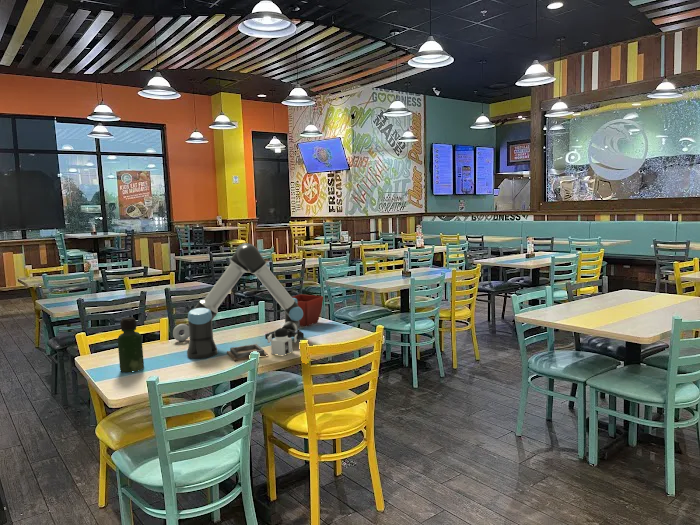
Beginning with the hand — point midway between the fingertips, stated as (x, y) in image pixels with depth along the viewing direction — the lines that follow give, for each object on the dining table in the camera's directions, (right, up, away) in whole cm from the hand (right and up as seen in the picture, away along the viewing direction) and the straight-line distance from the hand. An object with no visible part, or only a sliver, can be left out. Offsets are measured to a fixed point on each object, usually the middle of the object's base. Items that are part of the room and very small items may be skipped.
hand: (281, 340), depth 258 cm
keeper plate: (-18, -8, +2) cm, 20 cm away
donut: (-62, -6, +34) cm, 71 cm away
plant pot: (+6, 0, +67) cm, 67 cm away
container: (0, -7, +2) cm, 8 cm away
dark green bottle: (-69, -12, -16) cm, 72 cm away
